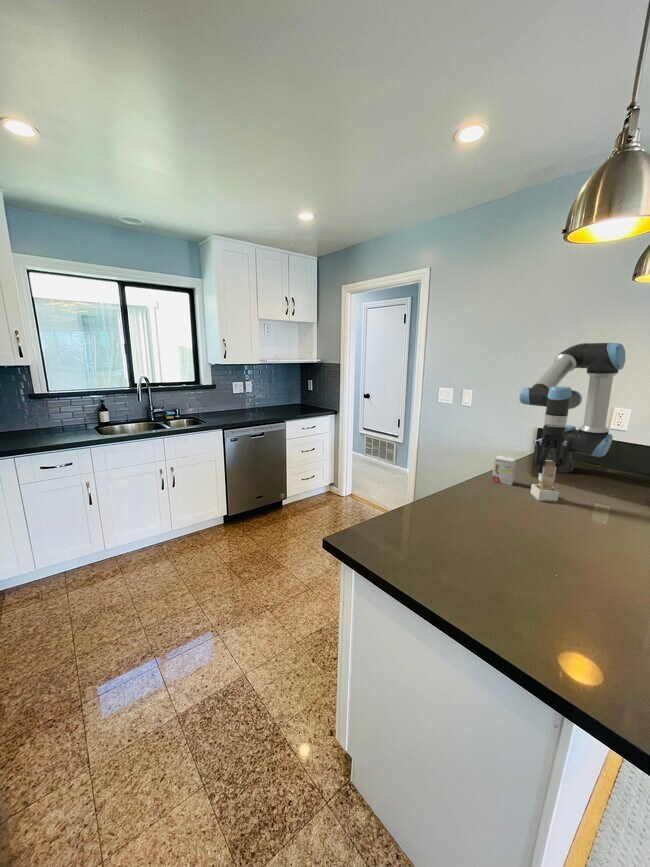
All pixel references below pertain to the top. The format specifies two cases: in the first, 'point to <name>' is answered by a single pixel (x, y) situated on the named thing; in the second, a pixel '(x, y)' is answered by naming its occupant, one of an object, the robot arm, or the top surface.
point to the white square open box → (544, 494)
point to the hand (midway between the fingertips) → (546, 480)
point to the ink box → (504, 470)
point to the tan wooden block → (548, 475)
